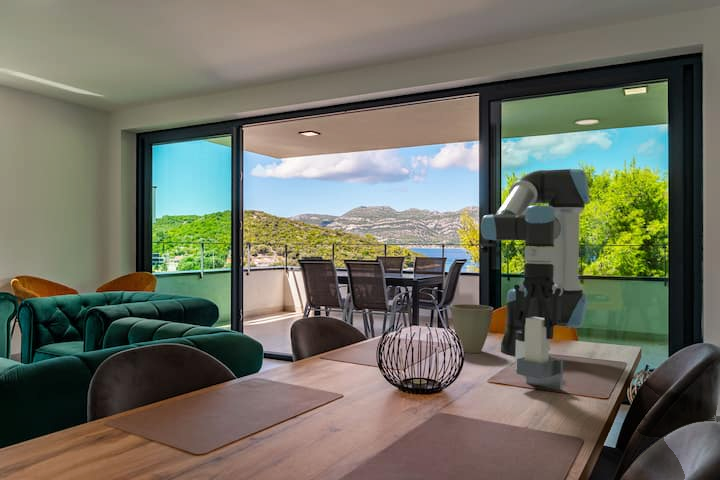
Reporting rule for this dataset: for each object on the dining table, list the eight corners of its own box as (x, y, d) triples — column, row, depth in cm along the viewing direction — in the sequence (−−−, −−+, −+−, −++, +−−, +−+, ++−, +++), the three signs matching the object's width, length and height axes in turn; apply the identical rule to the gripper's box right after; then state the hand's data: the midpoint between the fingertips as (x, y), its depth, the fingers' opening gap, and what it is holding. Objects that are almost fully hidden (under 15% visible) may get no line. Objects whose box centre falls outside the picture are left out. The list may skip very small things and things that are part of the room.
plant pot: (447, 353, 191) (448, 307, 191) (452, 345, 205) (453, 303, 205) (491, 357, 187) (492, 310, 187) (493, 348, 201) (494, 305, 201)
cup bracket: (528, 382, 155) (529, 353, 155) (562, 389, 148) (563, 360, 148) (512, 387, 149) (512, 358, 149) (546, 395, 142) (547, 365, 142)
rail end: (533, 360, 151) (534, 316, 151) (548, 363, 148) (549, 318, 148) (524, 362, 148) (525, 318, 148) (540, 365, 145) (541, 320, 144)
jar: (549, 371, 168) (550, 332, 168) (534, 375, 163) (534, 335, 163) (524, 365, 175) (524, 328, 175) (508, 369, 170) (509, 330, 170)
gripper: (502, 261, 151) (500, 345, 151) (564, 264, 139) (561, 356, 139) (516, 261, 157) (514, 342, 157) (577, 264, 144) (574, 352, 144)
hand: (537, 349), depth 148 cm, fingers closed on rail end, 4 cm apart
